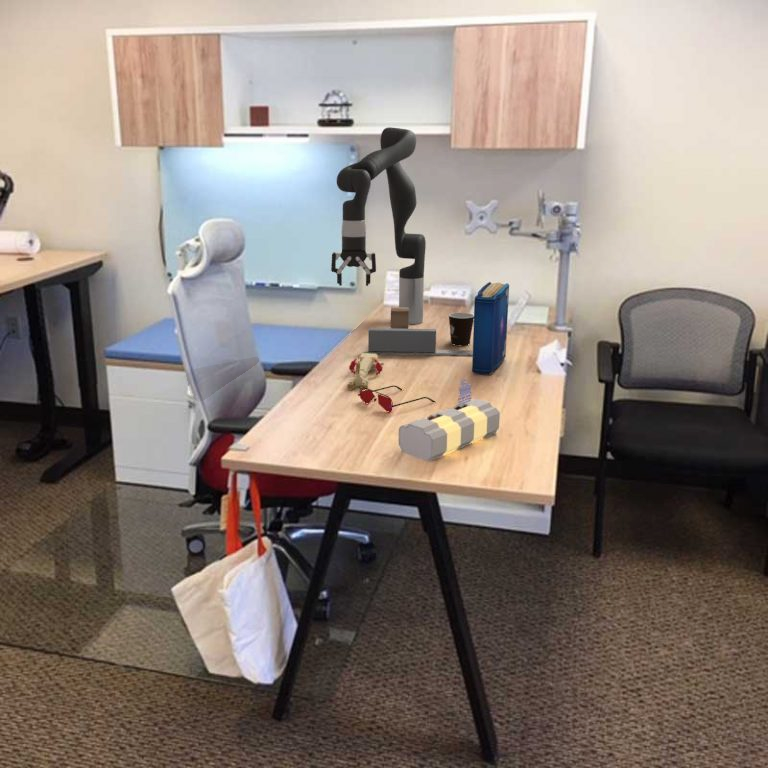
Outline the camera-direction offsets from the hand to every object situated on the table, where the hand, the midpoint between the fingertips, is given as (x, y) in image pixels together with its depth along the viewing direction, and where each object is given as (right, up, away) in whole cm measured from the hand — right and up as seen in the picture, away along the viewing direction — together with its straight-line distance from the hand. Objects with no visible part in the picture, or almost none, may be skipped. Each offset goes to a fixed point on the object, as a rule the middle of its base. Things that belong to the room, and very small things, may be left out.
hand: (353, 285), depth 263 cm
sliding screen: (+16, -22, +7) cm, 27 cm away
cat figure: (+4, -30, -19) cm, 36 cm away
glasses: (+13, -37, -40) cm, 56 cm away
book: (+42, -26, -7) cm, 50 cm away
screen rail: (+24, -22, +7) cm, 33 cm away
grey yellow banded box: (+25, -46, -68) cm, 86 cm away
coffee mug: (+36, -17, +21) cm, 45 cm away
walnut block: (+15, -18, +19) cm, 30 cm away
